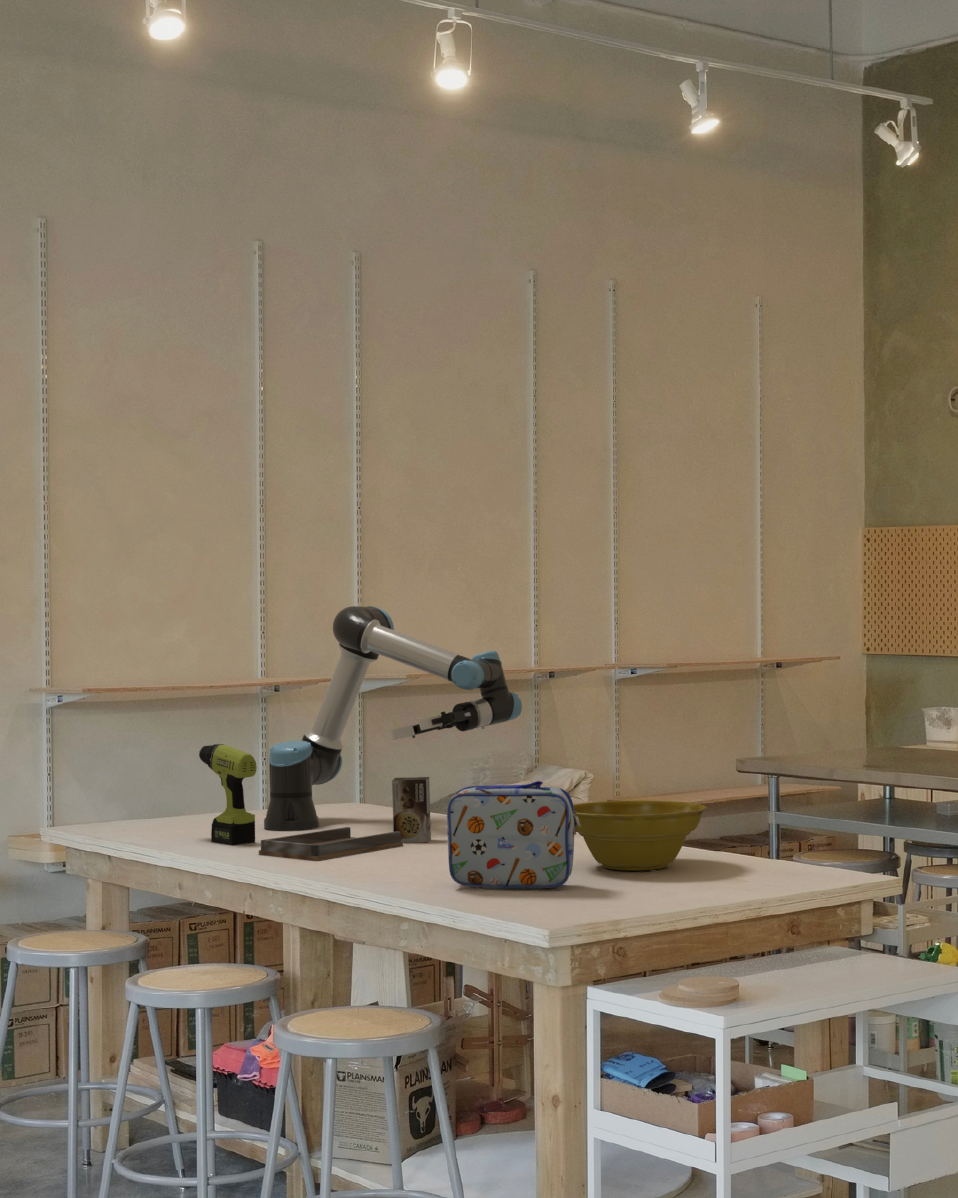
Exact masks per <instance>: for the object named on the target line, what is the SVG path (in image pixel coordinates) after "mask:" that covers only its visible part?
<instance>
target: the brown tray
mask: <svg viewBox="0 0 958 1198" xmlns="http://www.w3.org/2000/svg"><path fill="white" fill-rule="evenodd" d="M351 832H352V831H351V827H349V826H344V827H338V828H332V829H326V830H320V831H313V832H312V831H311V832H307V833H298V834H294V835H293V834H292V835H287V836H285V835H284V836H280V837H274V838H273V837H272V838H267V839H261V840H260V849H259V850H258V855H261V856H269V857H270V856H271V857H280V858H288V859H296V860H297V859H298V860H307V861H314V862H315V861H316V862H318V861H323V860H324V861H325V860H329V859H330V860H331V859H335V858H342V857H346V856H347V857H348V856H353V855H358V854H365V853H371V852H376V851H381V850H388V849H393V848H399V847H404V843H403V842H401V838H400V832H399V831H396V832H393V831H392V832H391V831H390V832H384V833H379V834H371V835H365V836H360V837H355V836H354V837H353V836H351Z"/></svg>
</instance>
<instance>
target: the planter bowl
mask: <svg viewBox="0 0 958 1198" xmlns="http://www.w3.org/2000/svg"><path fill="white" fill-rule="evenodd" d="M573 808H574V811H576V816H577V817H578V819H579V822H580V825H581V827H580V828H579V827H578V825H576V833H578V835H580V836H581V837H582V838H583V840H584V842H585V845H586V846H587V848H588V850H589V852H590V854H591V855H592V857H593V859H594V860H595V861H596V863H598V864H600V865H602V867H603V868H606V869H608V870H617V871H623V872H624V871H651V870H652V871H653V870H660V869H664V868H667V867H668V866H669V865H670V864H671V863H674V861H675V860H676V858H677V857H678V856H679V853H680V851H681V849H682V847H683V845H684V843H685V840H686V837H687V836H689V835H690V834H691V833H692V832H693V831H695V830H696V829H697V828H698V826H699V823H700V821H701V819H702V815H703V812H704V811H705V810H707V809H708V807H707V806H706V805H704V804H700V803H695V802H688V801H687V802H686V801H675V800H674V801H673V800H641V799H640V800H610V801H608V800H607V801H593V802H591V801H590V802H581V803H576V804H575V803H573Z"/></svg>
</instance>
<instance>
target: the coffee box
mask: <svg viewBox="0 0 958 1198" xmlns="http://www.w3.org/2000/svg"><path fill="white" fill-rule="evenodd" d="M391 788H392V789H391V790H392V791H391V792H392V793H391V794H392V795H391V796H392V798H391V799H392V824H393V826H392V828H393V831H392V832H396V831H399V832H400V838H401V842H403V844H405V843H407V844H408V843H429V842H430V841H431V840H432V831H431V830H432V828H431V824H432V823H431V799H430V798H431V797H430V796H431V792H430V776H408V777H407V776H405V777H395V778H393V779H392V780H391Z"/></svg>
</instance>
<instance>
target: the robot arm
mask: <svg viewBox="0 0 958 1198" xmlns="http://www.w3.org/2000/svg"><path fill="white" fill-rule="evenodd" d="M332 633H333V635H334V638H335V639H336V641H337V642H338V643H339V644H338V647H339V649H340V651H341V653H340V654H339V655H340V656H339V659H338V661H337V663H336V666H335V669H334V671H333V674H332V676H331V679H330V682H329V684H328V687H327V689H326V692H325V694H324V697H323V700H322V702H321V705H320V707H319V710H318V713H317V715H316V718H315V720H314V723H313V726H312V728H311V729H309V730H306V731H305V732H304V734H303V736H302V739H301V740H291V741H290V740H289V741H286V742H285V741H283V742H279V743H276V744H274V745H272V746H271V747H270V748H269V757H268V764H269V765H268V766H269V767H268V768H269V770H268V771H269V803H268V806H267V811H266V815H265V818H264V819H263V828H264V830H265V829H266V830H270V831H301V830H310V829H311V830H312V829H315V828H319V827H320V819H319V816H318V815H317V811H316V806H315V804H314V799H313V786H315V785H316V786H318V785H323V784H325V783H328V782H330V781H332V780H334V779H335V778H336V777H337V776H338V775H339V773H340V771H341V770H342V769H341V768H342V765H343V757H342V755H341V754H342V750H343V747H344V745H343V744H342V743H343V742H342V741H341V738H342V736H343V733H344V731H345V728H346V726H347V723H348V720H349V717H350V715H351V713H352V710H353V708H354V705H355V702H356V699H357V698H358V694H359V692H360V690H361V687H362V684H363V682H364V680H365V676H366V674H367V671H368V669H369V666H370V665H371V663H373V662H376V661H377V660H378V658H379V657H380V656H382V657H385V658H388V659H390V660H393V661H396V662H397V663H400V664H403V665H406V666H409V667H411V668H414V669H417V670H419V671H422V672H425V673H427V674H429V675H432V676H436V677H438V678H440V679H443V680H446V681H449V682H451V683H453V684H454V685H455V686H456V687H457V688H459V689H462V690H467V691H471V690H476V689H479V692H480V695H481V698H478V699H473V700H469V701H464V702H459V703H457V704H455V705H454V706H453V708H452V710H451V711H449V712H448V713H447V712H446V711H441V712H440V714H439V715H435V716H431V717H425V718H422V719H418V723H417V724H415V725H413V724H411V725H406V726H404V727H398V728H393V729H391V730H390V731H391V732H390V733H391V736H392V740H393V741H395V740H399V739H404V738H409V737H412V738H413V739H414V738H416V735H420V734H425V733H428V732H429V733H430V732H432V731H435V730H436V731H440V730H444V729H452V728H454V727H455V728H456V729H457V730H458V731H460V732H467V731H472V730H474V729H479V728H481V729H482V730H485V729H486V727H488V726H493V725H497V724H502V723H505V722H509V721H512V720H516V719H517V718H519V717H520V715H521V713H522V712H523V711H522V710H523V704H522V700H521V698H520V697H519V695H518V694H517V693H516V692H513V691H510V690H509V688H508V684H507V680H506V677H505V673H504V669H503V665H502V664H503V663H502V660H501V659H500V655H499V653H498V651H496V650H490V651H489V650H488V651H485V652H480V653H478V654H475V655H473V656H472V658H469V657H466V656H464V655H460V654H458V653H455V652H453V651H450V650H447V649H444V648H442V647H440V646H436V645H434V644H431V643H428V642H425V641H423V640H421V639H418V638H416V637H413V636H411V635H407V634H404V633H402V632H400V631H396V630H395V626H394V622H393V619H392V618H391V615H389V613H388V612H386V611H385V610H384V609H382V608H379V607H376V606H370V605H369V606H368V605H367V606H355V605H354V606H347V607H345V608H343V609H342V610H340V611H339V612H337V614H336V615H335V617H334V620H333V621H332Z"/></svg>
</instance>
